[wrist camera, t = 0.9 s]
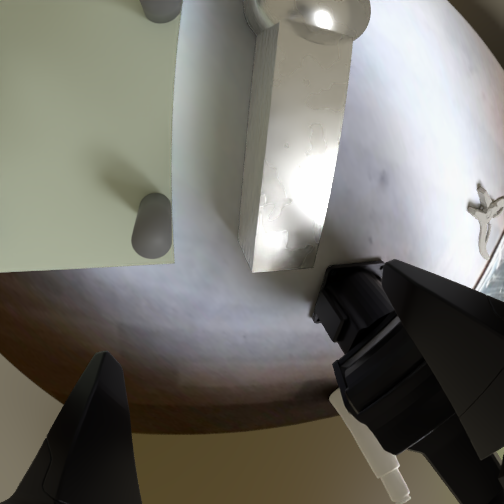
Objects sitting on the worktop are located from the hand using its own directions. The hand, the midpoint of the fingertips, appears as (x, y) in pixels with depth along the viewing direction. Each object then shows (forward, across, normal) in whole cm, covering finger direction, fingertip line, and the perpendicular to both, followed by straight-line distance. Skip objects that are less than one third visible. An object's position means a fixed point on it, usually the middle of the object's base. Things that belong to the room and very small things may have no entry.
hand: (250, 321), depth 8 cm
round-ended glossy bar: (+12, -6, -4) cm, 14 cm away
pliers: (+13, -34, +12) cm, 38 cm away
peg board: (+11, +8, -8) cm, 16 cm away
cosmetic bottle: (+12, -11, +36) cm, 40 cm away
